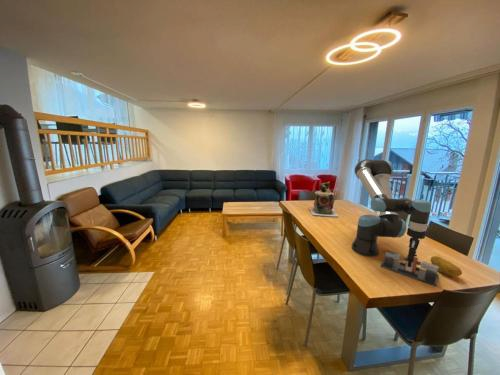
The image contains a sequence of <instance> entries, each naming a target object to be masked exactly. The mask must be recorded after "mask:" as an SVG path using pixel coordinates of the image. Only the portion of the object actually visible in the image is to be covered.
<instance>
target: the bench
mask: <svg viewBox="0 0 500 375" xmlns="http://www.w3.org/2000/svg"><path fill="white" fill-rule="evenodd" d="M400 257H401V253H399V252H394V251H392V250H391V251H390V250H387V249H386V250H385V257H384V259H383V260H382V262H381V264H380V265H379V266H380V268H383V269H385V270H388V271H391V272H394V273H396V274H400V275H402V276H405V277H408V278H411V279H413V280H416V281H419V282H422V283H424V284H427V285H430V286H432V287H435V288H438V282H439V274H438V273H439V271H438V270H439V267H438V266H436V265H433V264H432V263H431V262H427V261H425V260H422V262H421V265H420V267H417V266H416V270H415V273H413V272H410V271H407V270H404V268H405V263H406V262H403V261H400V259H401V258H400Z"/></svg>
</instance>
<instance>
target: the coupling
mask: <svg viewBox="0 0 500 375" xmlns="http://www.w3.org/2000/svg"><path fill="white" fill-rule="evenodd" d="M407 258H408V254H407V256H402V261H405V262H404V263H405V268H406V263H407V260H406V259H407ZM421 263H422V262H421V261H419V258H418V257H416V256H414V262H413V267H412V272H413V273H415V270H416V267H417V266H421ZM405 268H404V270H405Z"/></svg>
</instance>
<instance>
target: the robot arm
mask: <svg viewBox="0 0 500 375" xmlns="http://www.w3.org/2000/svg"><path fill="white" fill-rule="evenodd" d="M354 174H355V177H356V178H357V179H359V180H360V182H361V184H362V185H363V187H364V189H365V190H366V192H367V194H368V196H369V198H370V199H371V200H370V207H371V210H372V211H374V212H379V215H376V214H362V215H361V216H359V218H358V221H357V228H356V236H355V238H354V240H353V242H352V243H351V249H352V251H354V252H355V253H357V254H359V255H362V256H366V257H377V256H378V255H379V247H378V241H377V240H378V238H379V237H381V238H401V237H403V236H404V235H405V233H406V234H407V236H408V237H410V238H409V245H408V248H409V249H408V254H407V255H408V258H407V257H406V258H407V259H406V260H407V263H406V262H405V263H406V268H405V270H407V271H410V272H412V267H413V262H414V257H416V258H418V255H417V249H418V247H419V245H420V241H421V240H423V239H425V238H426V236H427V235H426V234H427V229H428V228H429V227H430V225H428V223H429V218H430V215H431V212H432V203H431V201H429V200H425V199H417V198H416V199H413V200H412V199H410V198H407V197H398V198H393V194H392V189H391V184H390V180H389V179H390V178H391V177H392V175H393V174H394V166H393V163H392V162H391V161H390V160H388V159H370V158H367V159H362V160H360V161H359V162H357V164H355V166H354ZM398 213H402V214H408V215H409V219H408V225H407V224H406V223H407V222H406V221H405V220H404V219H402V218H401V217H400V214H398Z"/></svg>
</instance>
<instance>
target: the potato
mask: <svg viewBox="0 0 500 375" xmlns="http://www.w3.org/2000/svg"><path fill="white" fill-rule="evenodd" d="M430 264H433V265H436V266H438V267H439V270H438V272H439V273H441V274H444V275H447V276H449V277H460V276H461V275H463V272H462V269H461V268H460V267H458V266H457V265H455V263H454V264H453V263H452V262H450V261H449V260H446V259H445V258H443V257H441V256H439V255H433V256H431V257H430Z"/></svg>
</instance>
